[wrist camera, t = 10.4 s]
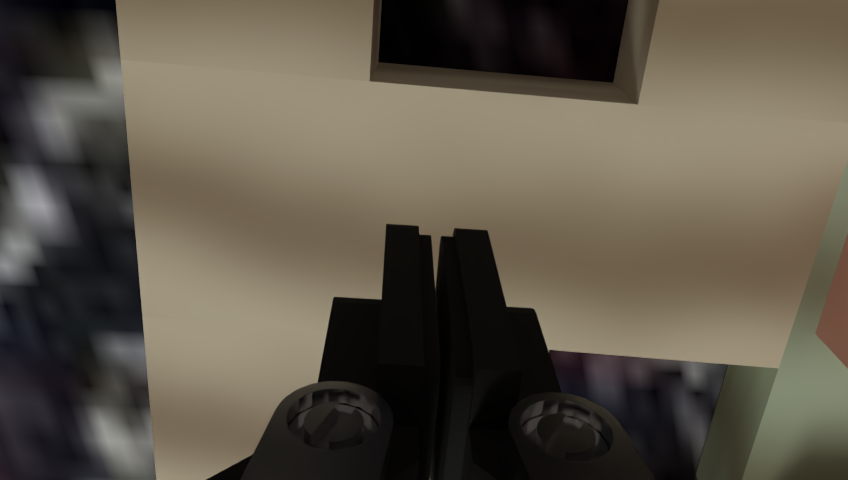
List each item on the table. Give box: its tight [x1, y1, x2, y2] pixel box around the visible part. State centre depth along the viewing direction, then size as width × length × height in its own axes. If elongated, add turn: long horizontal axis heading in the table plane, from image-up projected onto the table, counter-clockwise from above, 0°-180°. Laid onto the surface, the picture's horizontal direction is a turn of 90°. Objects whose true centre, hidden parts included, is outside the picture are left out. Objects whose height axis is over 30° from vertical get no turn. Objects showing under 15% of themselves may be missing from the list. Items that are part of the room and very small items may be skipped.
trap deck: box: [116, 0, 848, 480], centre depth 17 cm, size 18×23×6 cm
